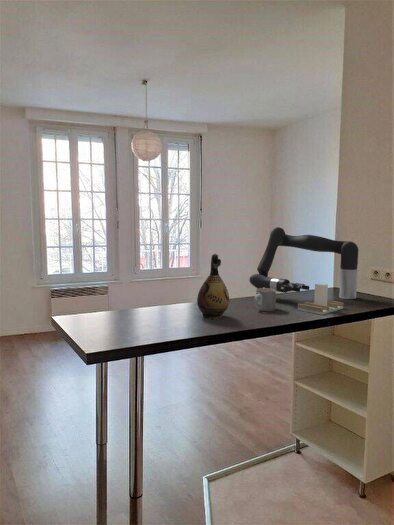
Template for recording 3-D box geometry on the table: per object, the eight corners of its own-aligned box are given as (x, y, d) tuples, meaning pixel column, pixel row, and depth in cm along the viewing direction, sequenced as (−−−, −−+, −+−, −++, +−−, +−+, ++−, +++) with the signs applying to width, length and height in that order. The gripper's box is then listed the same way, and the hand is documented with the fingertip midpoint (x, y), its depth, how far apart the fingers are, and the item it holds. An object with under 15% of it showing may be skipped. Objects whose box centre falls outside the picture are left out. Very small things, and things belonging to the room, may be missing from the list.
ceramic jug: (231, 320, 186) (232, 256, 183) (198, 320, 185) (198, 256, 182) (226, 311, 203) (226, 252, 200) (195, 312, 202) (195, 252, 199)
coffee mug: (267, 305, 217) (267, 287, 215) (279, 309, 208) (279, 290, 207) (246, 308, 210) (247, 289, 209) (258, 312, 201) (259, 292, 200)
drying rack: (319, 304, 220) (319, 298, 220) (343, 308, 209) (343, 302, 209) (297, 309, 207) (297, 303, 207) (321, 314, 196) (322, 308, 196)
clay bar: (318, 305, 211) (319, 283, 210) (327, 307, 207) (327, 284, 206) (314, 306, 209) (314, 283, 207) (322, 308, 205) (323, 285, 203)
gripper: (272, 279, 222) (296, 283, 210) (287, 277, 231) (312, 280, 219) (271, 293, 223) (296, 297, 211) (287, 290, 232) (311, 294, 220)
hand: (304, 288), depth 215 cm, fingers open, 8 cm apart
